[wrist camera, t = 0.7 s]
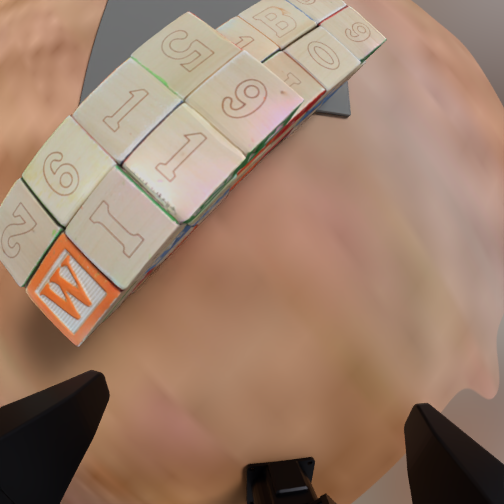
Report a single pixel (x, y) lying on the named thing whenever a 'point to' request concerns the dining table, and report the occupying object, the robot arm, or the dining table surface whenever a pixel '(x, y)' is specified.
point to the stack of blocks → (168, 149)
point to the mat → (153, 21)
